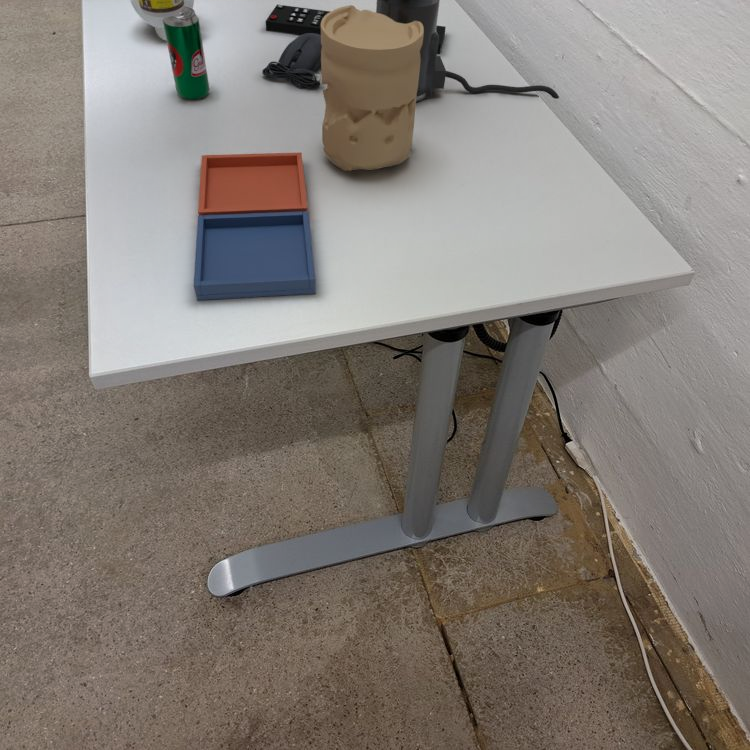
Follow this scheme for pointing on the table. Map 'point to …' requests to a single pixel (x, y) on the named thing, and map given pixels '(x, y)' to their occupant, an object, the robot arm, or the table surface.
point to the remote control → (309, 22)
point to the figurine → (156, 21)
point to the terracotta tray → (252, 184)
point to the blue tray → (253, 255)
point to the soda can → (187, 54)
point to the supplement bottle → (161, 7)
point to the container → (368, 87)
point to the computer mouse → (299, 62)
